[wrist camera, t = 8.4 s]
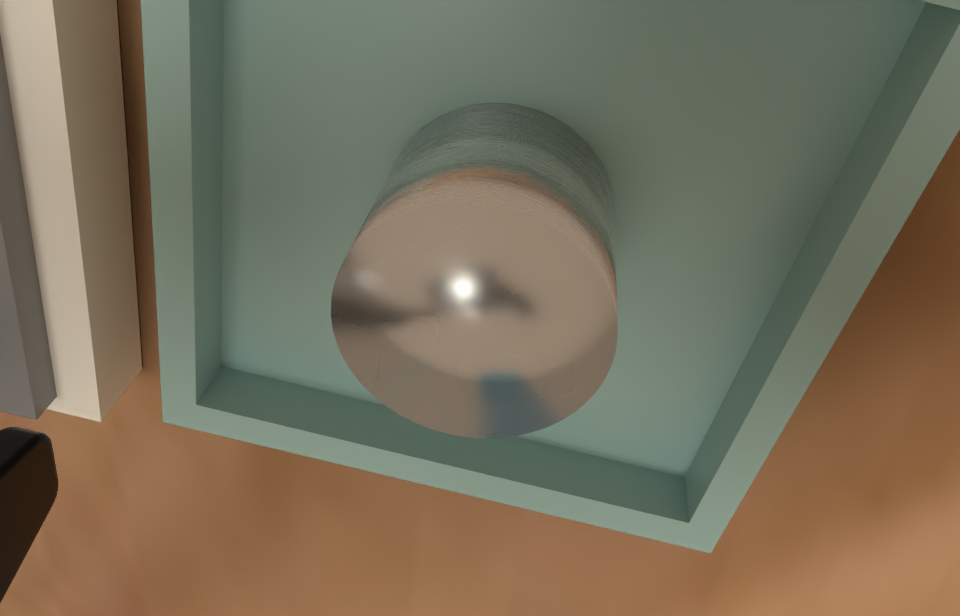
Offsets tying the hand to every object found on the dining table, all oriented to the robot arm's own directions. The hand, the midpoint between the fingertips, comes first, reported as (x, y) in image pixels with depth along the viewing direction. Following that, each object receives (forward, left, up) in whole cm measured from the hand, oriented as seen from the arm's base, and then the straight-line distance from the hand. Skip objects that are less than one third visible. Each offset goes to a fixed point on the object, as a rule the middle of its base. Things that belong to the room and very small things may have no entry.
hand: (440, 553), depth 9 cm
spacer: (0, 0, -8) cm, 8 cm away
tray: (0, 0, -9) cm, 9 cm away
